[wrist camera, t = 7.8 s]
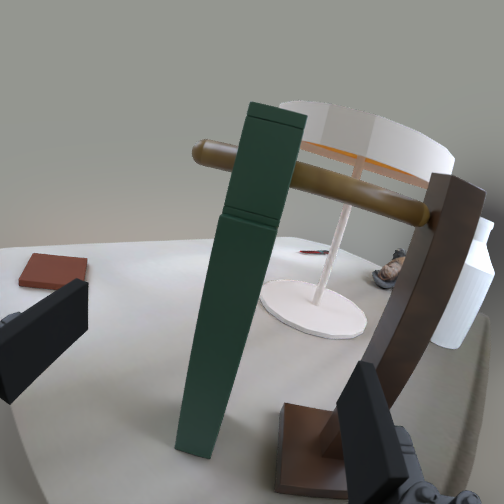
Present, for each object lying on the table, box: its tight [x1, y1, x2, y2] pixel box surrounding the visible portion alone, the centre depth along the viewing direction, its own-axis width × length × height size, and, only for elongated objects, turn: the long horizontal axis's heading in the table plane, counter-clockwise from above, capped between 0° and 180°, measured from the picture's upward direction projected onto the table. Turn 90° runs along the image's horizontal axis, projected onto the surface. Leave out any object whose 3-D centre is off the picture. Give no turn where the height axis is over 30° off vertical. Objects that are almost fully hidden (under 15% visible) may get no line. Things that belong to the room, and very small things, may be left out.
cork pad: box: [19, 253, 87, 290], centre depth 41 cm, size 10×10×1 cm
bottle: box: [430, 217, 495, 349], centre depth 52 cm, size 12×12×25 cm
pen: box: [300, 250, 329, 253], centre depth 91 cm, size 2×14×1 cm, turn 127°
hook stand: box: [192, 139, 487, 499], centre depth 20 cm, size 22×10×25 cm, turn 84°
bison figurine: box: [372, 248, 407, 288], centre depth 77 cm, size 12×7×10 cm, turn 135°
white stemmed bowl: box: [259, 100, 455, 339], centre depth 50 cm, size 30×30×31 cm
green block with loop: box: [175, 102, 308, 459], centre depth 21 cm, size 3×6×25 cm, turn 174°
